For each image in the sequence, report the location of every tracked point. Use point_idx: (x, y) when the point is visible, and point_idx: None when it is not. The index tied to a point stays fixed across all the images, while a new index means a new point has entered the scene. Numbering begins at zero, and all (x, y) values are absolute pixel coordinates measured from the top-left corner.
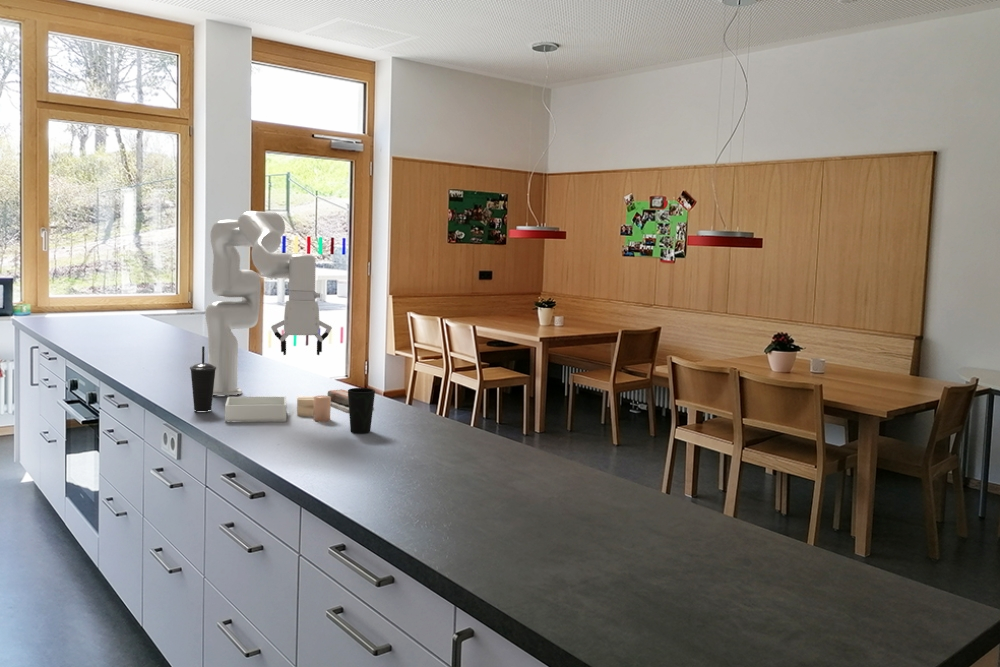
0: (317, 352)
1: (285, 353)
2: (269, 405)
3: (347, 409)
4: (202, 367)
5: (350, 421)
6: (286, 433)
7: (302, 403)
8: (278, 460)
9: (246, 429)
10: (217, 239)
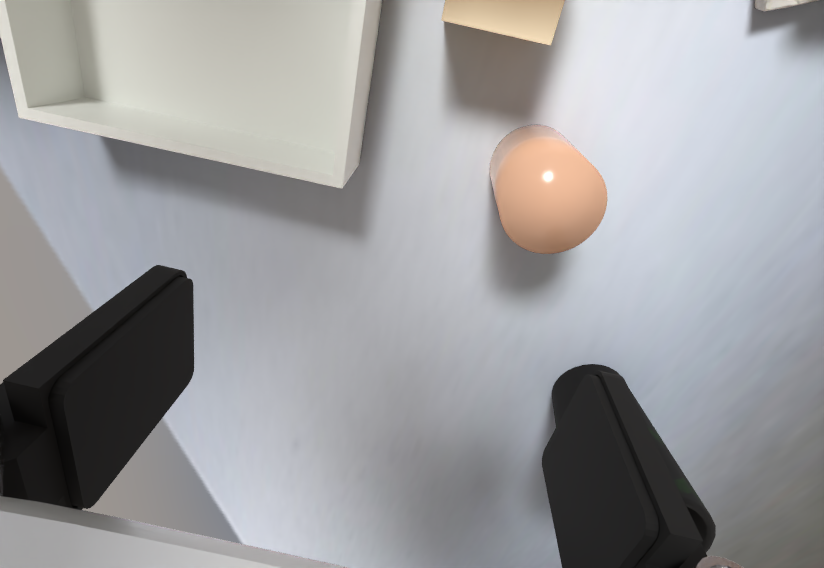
0: (550, 481)
1: (181, 386)
2: (253, 168)
3: (768, 9)
4: None
5: (556, 420)
6: (332, 346)
7: (472, 27)
8: (285, 543)
9: (193, 255)
10: None
